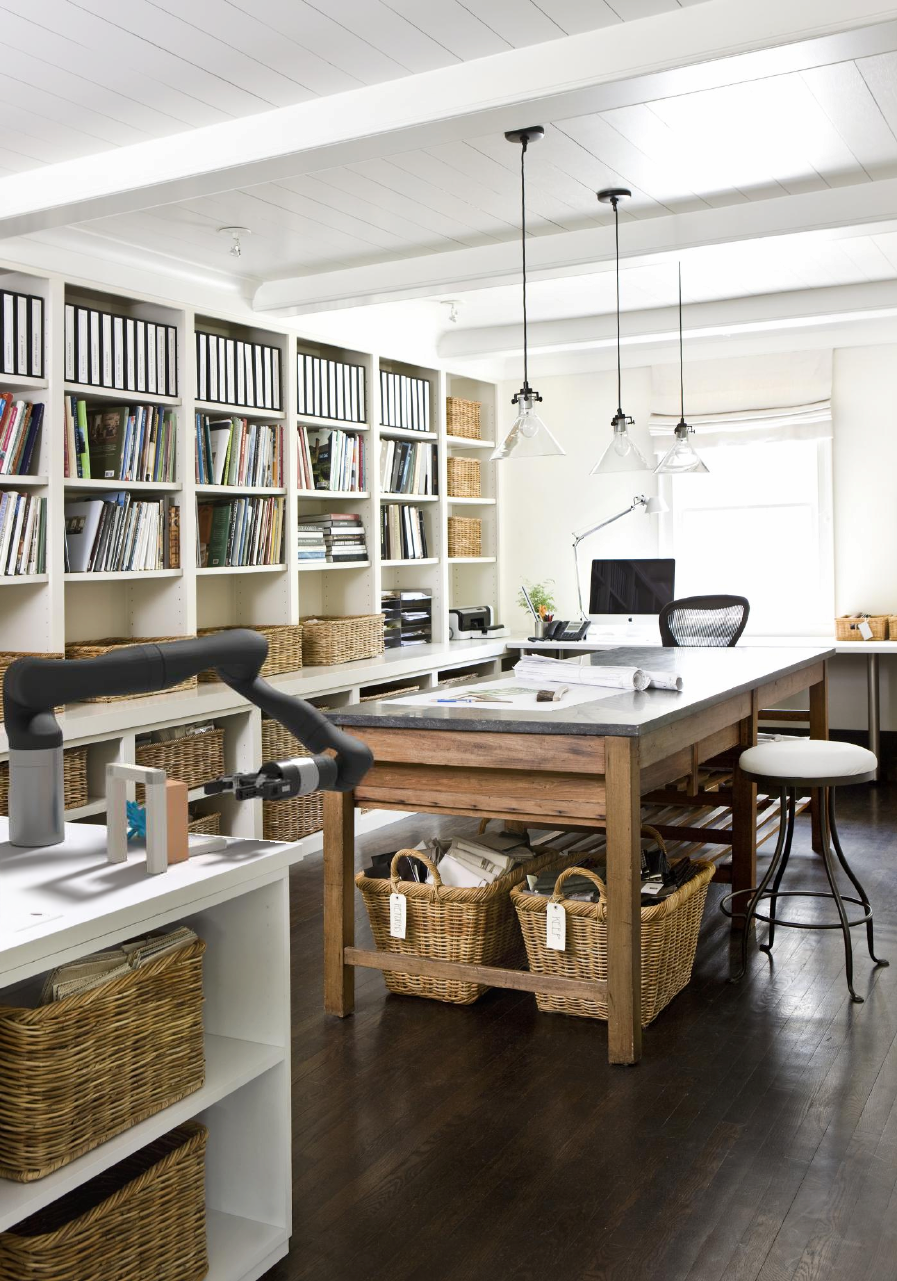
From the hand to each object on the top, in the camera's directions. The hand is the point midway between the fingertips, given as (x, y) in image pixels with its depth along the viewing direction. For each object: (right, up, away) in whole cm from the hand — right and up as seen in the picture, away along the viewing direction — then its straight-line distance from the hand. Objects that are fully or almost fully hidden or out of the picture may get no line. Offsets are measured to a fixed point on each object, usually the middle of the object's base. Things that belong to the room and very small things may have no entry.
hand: (220, 792), depth 202 cm
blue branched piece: (-15, -10, +5) cm, 18 cm away
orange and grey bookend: (-4, -10, -5) cm, 12 cm away
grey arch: (-11, -11, -13) cm, 20 cm away
